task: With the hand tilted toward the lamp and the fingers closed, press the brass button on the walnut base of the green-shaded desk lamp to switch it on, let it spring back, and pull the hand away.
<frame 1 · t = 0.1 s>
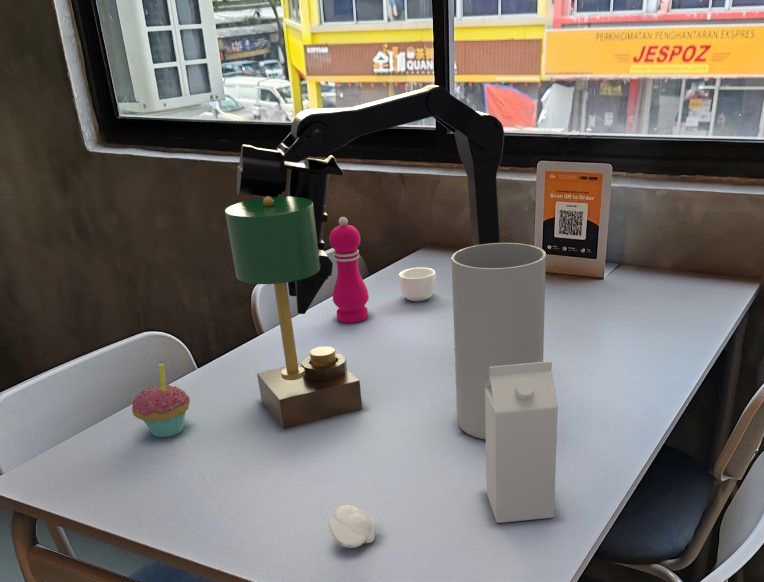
hand: (296, 304, 130), 15 cm above the table, tool pointing down, fingers open, 9 cm apart
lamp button: (323, 357, 130), point 8 cm above the table, slide at 0.1 cm
cupcake: (167, 432, 128), on the table
milk carton: (519, 507, 103), on the table
pepper mill: (352, 318, 168), on the table
dumpling: (354, 543, 99), on the table
lamp base: (311, 405, 133), on the table
cylinder vase: (499, 424, 123), on the table
desk lamp: (281, 291, 119), on the lamp base, point 20 cm above the table
teacup: (420, 297, 177), on the table
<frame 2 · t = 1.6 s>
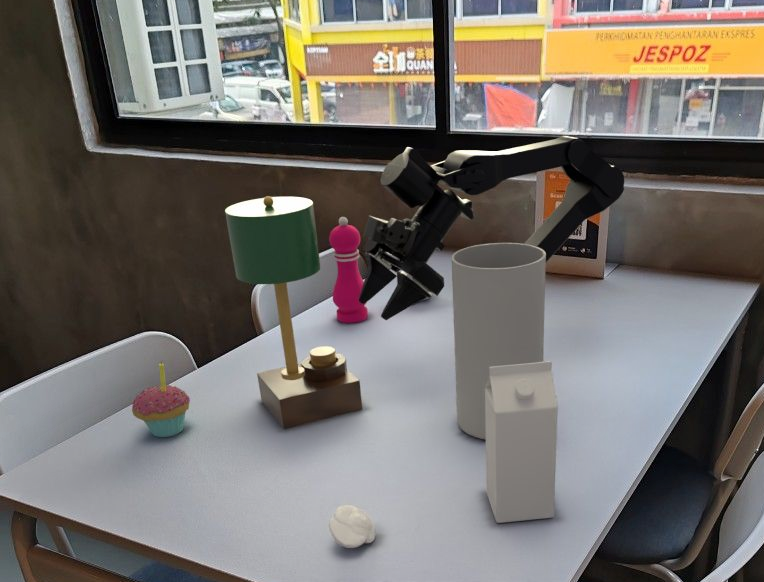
hand: (371, 310, 130), 13 cm above the table, tool tilted 45°, fingers open, 9 cm apart
nothing on the table moved.
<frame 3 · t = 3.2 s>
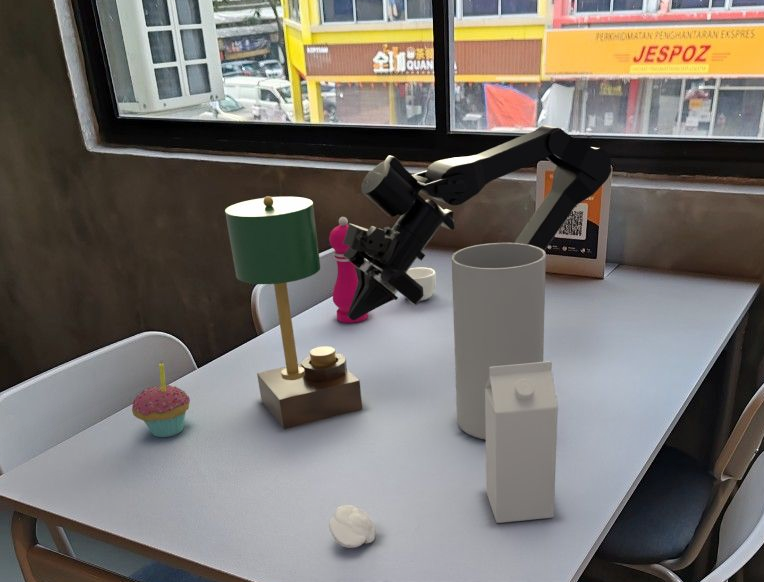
hand: (350, 318, 129), 13 cm above the table, tool tilted 45°, fingers closed
nothing on the table moved.
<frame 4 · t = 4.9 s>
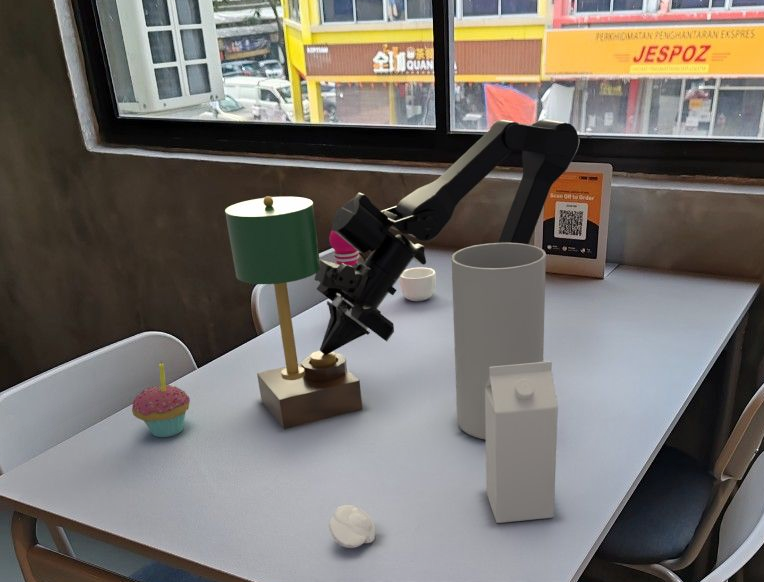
hand: (322, 352, 129), 8 cm above the table, tool tilted 45°, fingers closed, pressing on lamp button
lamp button: (323, 360, 130), point 7 cm above the table, slide at -0.5 cm, touching gripper
everything else where it was.
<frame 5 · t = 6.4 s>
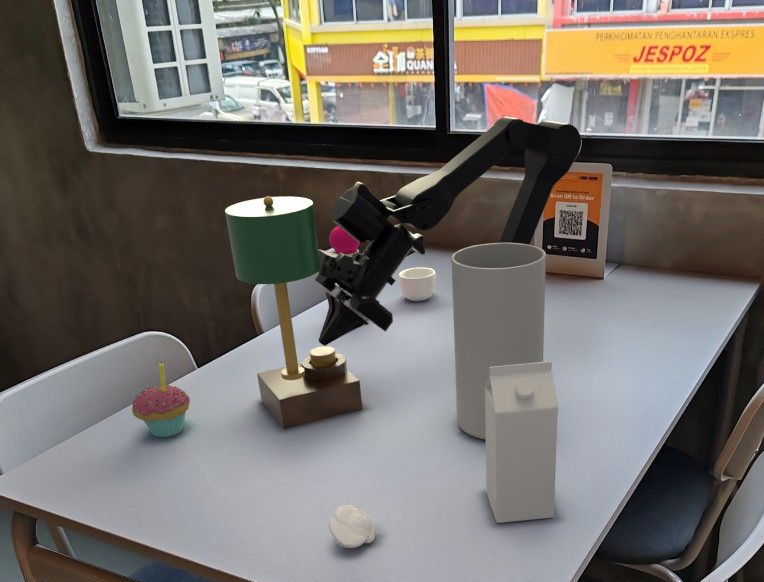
hand: (321, 343, 128), 10 cm above the table, tool tilted 45°, fingers closed
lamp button: (323, 357, 130), point 8 cm above the table, slide at 0.1 cm
everything else where it was.
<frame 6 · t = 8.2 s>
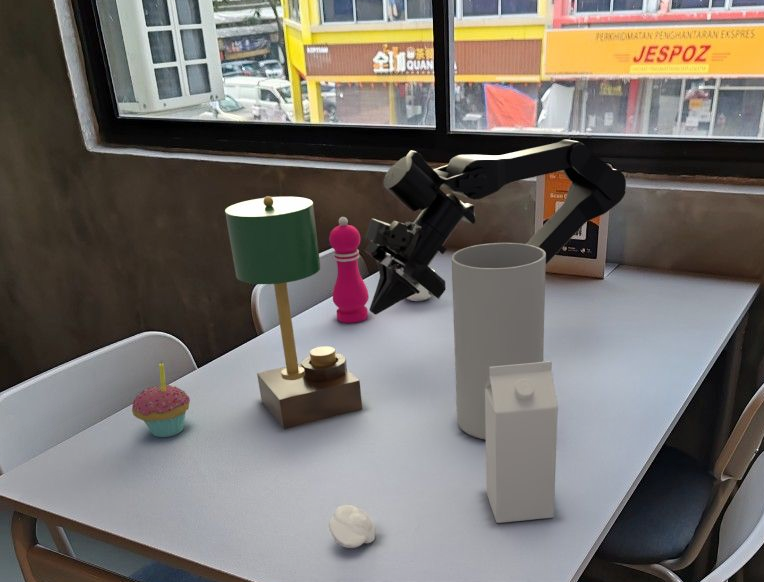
hand: (372, 312, 130), 13 cm above the table, tool tilted 45°, fingers closed
nothing on the table moved.
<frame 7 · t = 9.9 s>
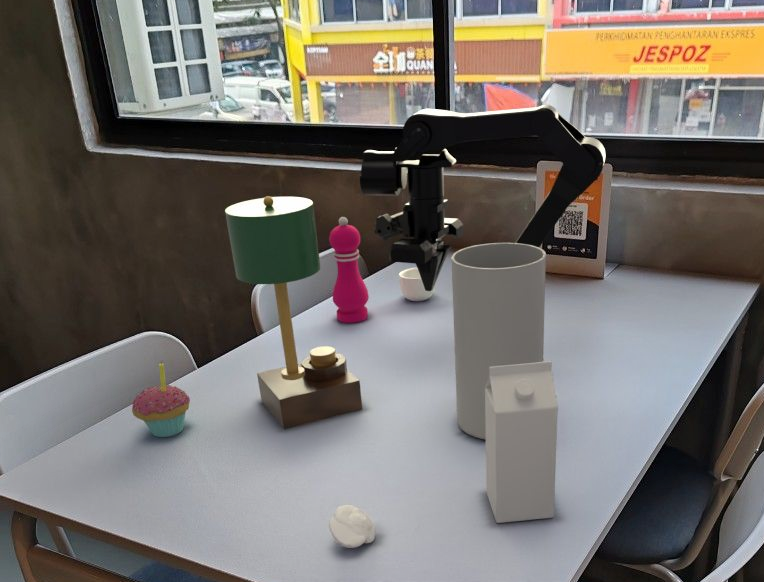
hand: (429, 290, 141), 12 cm above the table, tool pointing down, fingers closed
nothing on the table moved.
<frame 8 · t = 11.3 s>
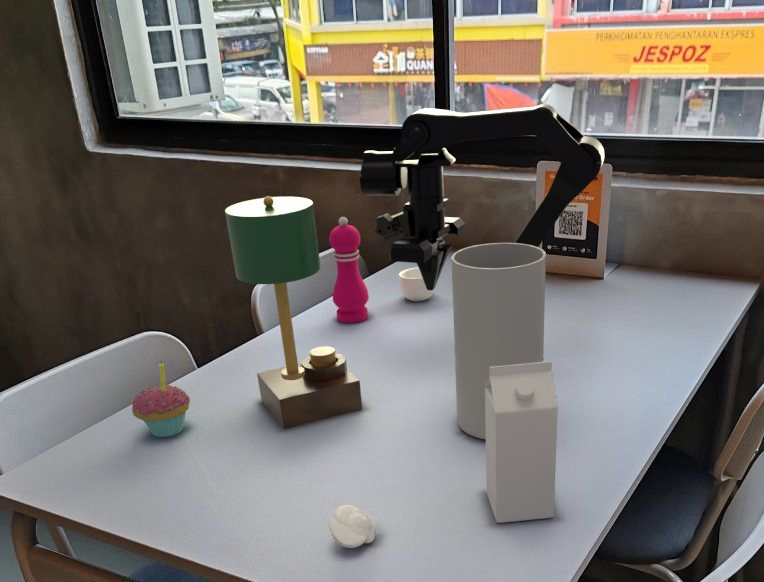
hand: (430, 289, 141), 12 cm above the table, tool pointing down, fingers closed
nothing on the table moved.
at the end: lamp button pushed in 1.3 cm at the most during the clip, back to where it started at the end; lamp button slide at 0.1 cm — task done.
